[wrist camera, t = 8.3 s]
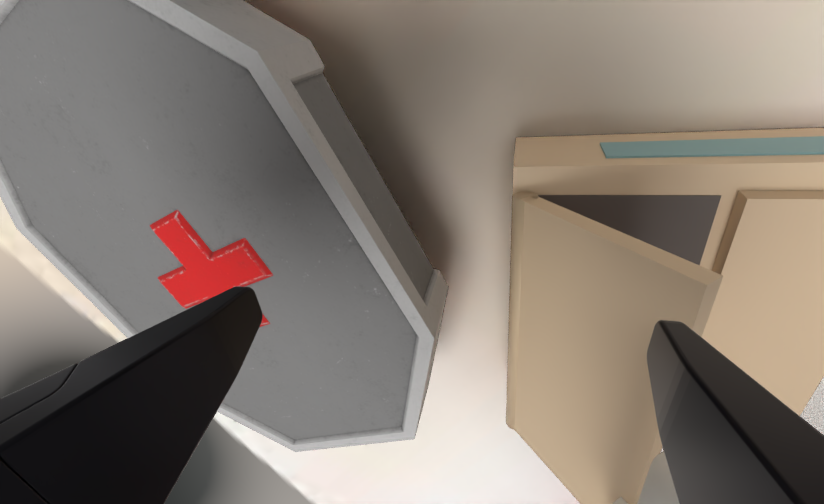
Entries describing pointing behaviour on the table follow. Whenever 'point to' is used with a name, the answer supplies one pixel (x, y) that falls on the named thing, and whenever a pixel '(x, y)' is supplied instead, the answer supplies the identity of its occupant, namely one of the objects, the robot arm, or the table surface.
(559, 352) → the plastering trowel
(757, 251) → the carton
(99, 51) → the first aid kit
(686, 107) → the table surface
